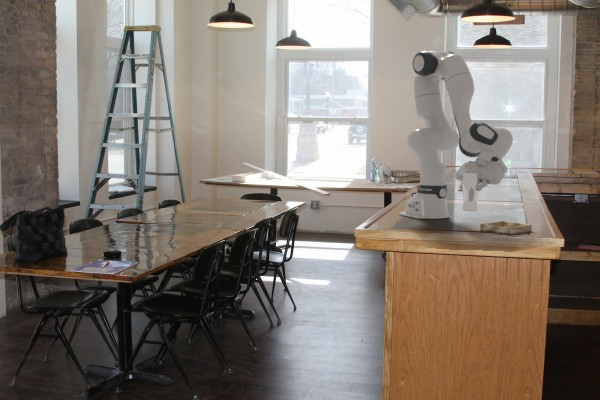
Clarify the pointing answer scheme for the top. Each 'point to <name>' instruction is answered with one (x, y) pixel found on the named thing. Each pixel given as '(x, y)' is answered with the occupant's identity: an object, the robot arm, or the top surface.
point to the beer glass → (470, 190)
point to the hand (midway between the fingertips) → (469, 188)
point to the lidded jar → (458, 183)
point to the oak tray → (506, 227)
